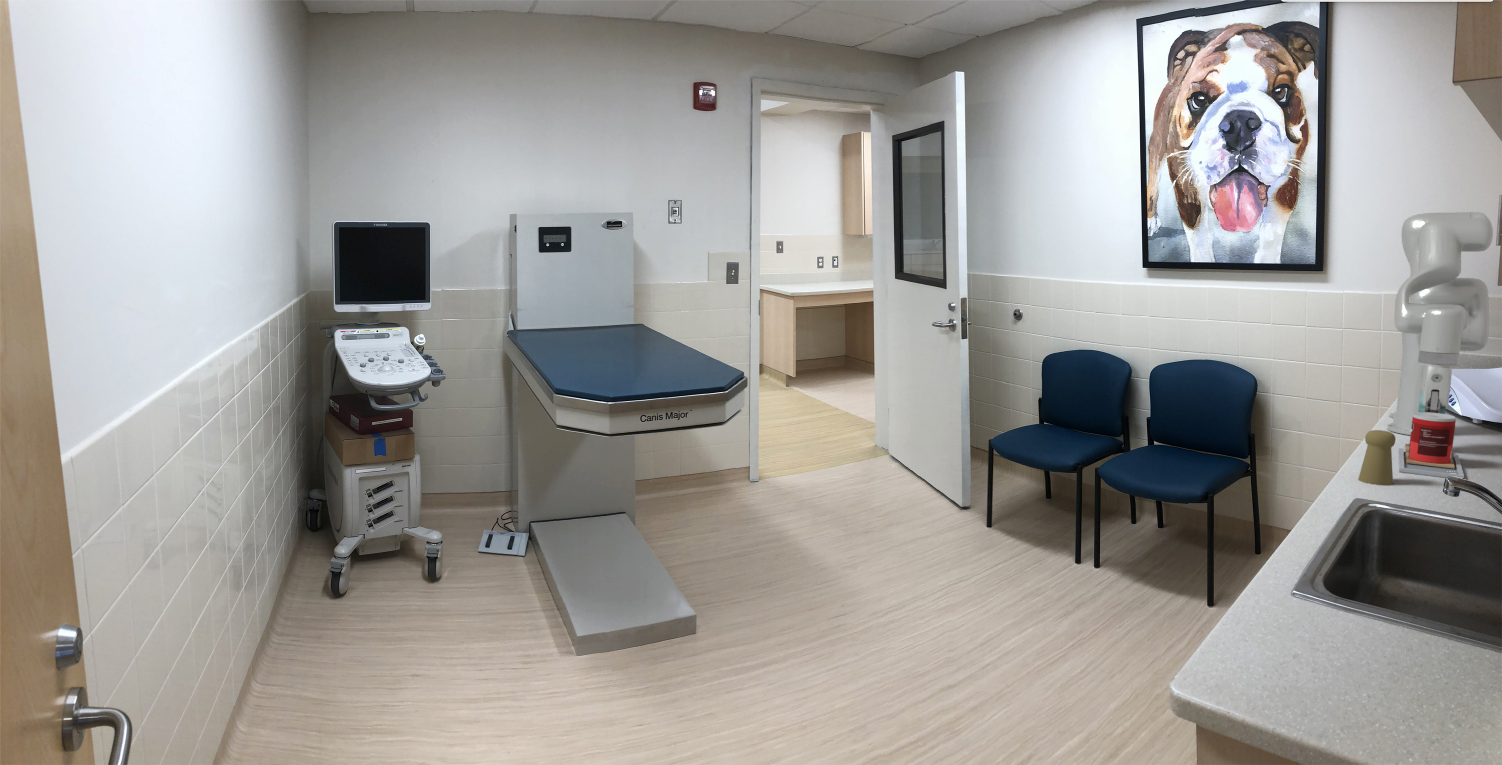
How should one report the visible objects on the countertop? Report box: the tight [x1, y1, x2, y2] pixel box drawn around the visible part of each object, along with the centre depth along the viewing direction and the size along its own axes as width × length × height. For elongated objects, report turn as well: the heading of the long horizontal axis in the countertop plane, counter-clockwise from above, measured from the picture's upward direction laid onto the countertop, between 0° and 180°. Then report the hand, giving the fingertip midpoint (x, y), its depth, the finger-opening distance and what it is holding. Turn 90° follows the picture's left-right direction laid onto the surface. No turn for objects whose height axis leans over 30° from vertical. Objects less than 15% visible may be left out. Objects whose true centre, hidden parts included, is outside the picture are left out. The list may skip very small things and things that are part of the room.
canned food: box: [1408, 412, 1457, 466], centre depth 195 cm, size 8×8×11 cm
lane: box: [1398, 448, 1465, 479], centre depth 195 cm, size 22×11×1 cm, turn 143°
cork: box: [1357, 429, 1396, 486], centre depth 182 cm, size 6×6×11 cm
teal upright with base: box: [1404, 390, 1455, 468], centre depth 200 cm, size 21×8×14 cm, turn 143°
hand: (1428, 433), depth 207 cm, fingers open, 3 cm apart
